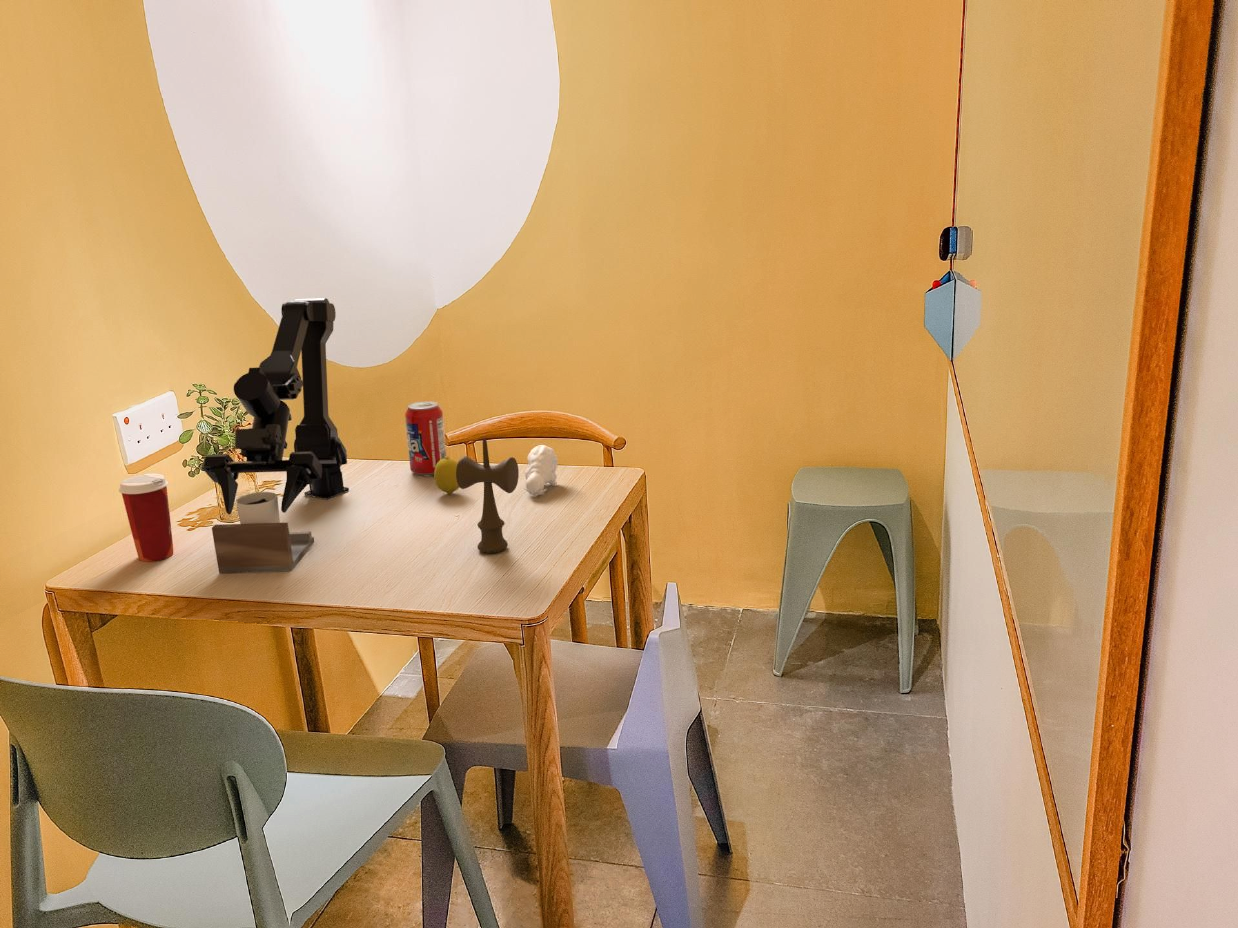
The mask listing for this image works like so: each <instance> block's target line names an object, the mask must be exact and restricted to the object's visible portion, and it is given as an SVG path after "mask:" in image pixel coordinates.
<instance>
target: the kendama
mask: <svg viewBox="0 0 1238 928" xmlns="http://www.w3.org/2000/svg"><path fill="white" fill-rule="evenodd" d="M489 456H490V455H489V449H488V442H487V437H482V461H483V462H482V464H481V463H479V462H477V461H475V460H474V459H473V458H470V457H469V456H467V455H465V456H461V458H459V460H458V461H457V462H458V464H457V468H456V480H457V484H458V486H459V488H460V489H461V490H465V489H468V488H470V487H472V486H474V485H475V484H479V483H483V502H482V512H481V513H482V514H481V519H480V520H479V521H478V522H477V527H478V529H480V533H481V538H480V539H481V540H480V542H479V543H478V544H477V547H476V548H477V550H478V551H480V552H482V553H488V554H490V553H491V554H495V553H499V552H503V551H505V549H507V547H508V545H509V543H508V541H507V540H506V539H505V537H504V535H503V527H504V526H505V521H504V520H503V519H501V517H500V516H499V512H498V508H497V505H496V504H497V503H496V498H495V494H494V490H493V488H494V487H493V485H495V486H497V487H498V488H500V489H501V490H502V491H503V492H505V493H507V494H511V493H513V492H514V491H515V490H516V489H517V486H518V482H519V475H520V474H519V464H518V461H517V459H516V458H515V457H513V456H511V457H507V458H506V459H505V460H503V461H501V462H500V463H498V464H495V465H490V457H489ZM459 488H458V489H459Z"/></svg>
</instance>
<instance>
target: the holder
mask: <svg viewBox="0 0 1238 928" xmlns="http://www.w3.org/2000/svg"><path fill="white" fill-rule="evenodd" d="M211 531H212V536H213V537H212V538H213V544H214V549H215V550H214V551H215V558H216V562H217V569H218V574H231V573H233V574H234V573H235V574H236V573H265V572H266V573H267V572H268V573H270V572H272V573H273V572H275V573H277V572H292V571H293V570H294V568H295V567H296V566H297V564H298V563H299V562H300V561H301V560H302V558H303V557H304V556H305V554H307V552H308V551H309V550H310V549H311V547H312V546H313V544H314V543H315V537H314V536H312V531H310V530H307V531H290V529H289V522H280V523H255V524H240V523H229V524H228V523H227V524H221V523H220V524H214V525H213V526H212V527H211Z"/></svg>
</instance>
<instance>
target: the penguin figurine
mask: <svg viewBox="0 0 1238 928" xmlns="http://www.w3.org/2000/svg"><path fill="white" fill-rule="evenodd" d="M558 461H559V459H558V456H557V455H556V453H555V450H554V449H553V448H551V447H550V446H547V445H545V444H539V445H537V446H534V447H533V448H532V449H531V450H530V452H529V453H528V455H527V462H528V465H527V468H526V469H525V471H524V476H525V479H526V480H525V488H524V487H523V490H525V491H526V492H527V494H528V495H531V496H532V497H534V498H537V497H538V496H541V495H543V494H544V493H545V492H546V491H548V488H544V487H545V485H546V484H549V485H550V486H552V487H556V486H557V485H558V482H557V474H556V471H557V469H558Z"/></svg>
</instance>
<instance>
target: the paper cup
mask: <svg viewBox="0 0 1238 928" xmlns="http://www.w3.org/2000/svg"><path fill="white" fill-rule="evenodd" d="M168 485H169V482H168V480H166V477H165V476H164V474H160V473H144V474H143V473H142V474H138V475H137V474H136V475H132V476H130V477H127V478H125V479H123V480H122V481H121V482H120V487H119V488H118V493H121V496H122V500H123V504H124V507H125V511H126V515H127V519H128V524H129V527H130V531H131V534H132V535H131V536H132V539H133V542H134V547H135V551H136V554H137V556H138V559H139V561H141V562H144V563H146V562H147V563H154V562H159V561H163V560H166V559H168V558H170V557H172V556H173V555H174V543H173V534H172V533H173V532H172V522H171V516H170V515H171V514H170V505H169V497H168V489H167V488H168V487H167V486H168Z"/></svg>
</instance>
